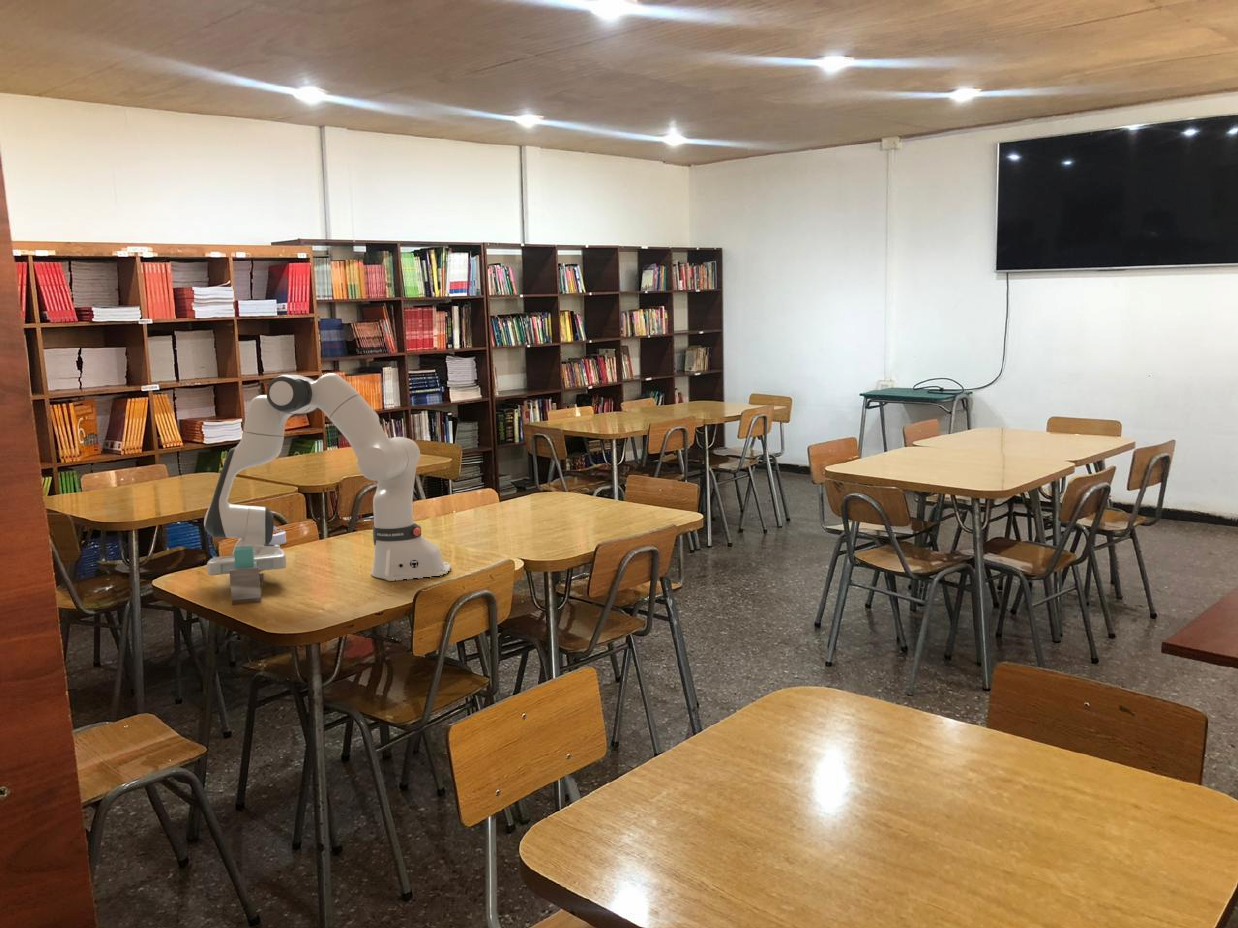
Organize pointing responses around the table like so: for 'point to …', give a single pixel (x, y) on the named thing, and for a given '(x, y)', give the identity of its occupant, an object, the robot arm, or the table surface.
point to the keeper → (244, 557)
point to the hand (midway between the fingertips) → (246, 570)
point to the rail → (246, 585)
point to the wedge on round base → (278, 537)
